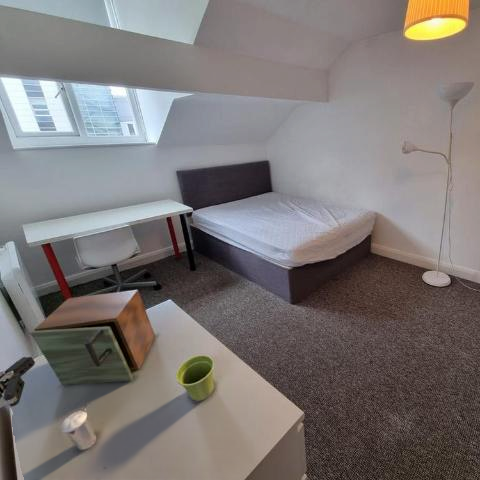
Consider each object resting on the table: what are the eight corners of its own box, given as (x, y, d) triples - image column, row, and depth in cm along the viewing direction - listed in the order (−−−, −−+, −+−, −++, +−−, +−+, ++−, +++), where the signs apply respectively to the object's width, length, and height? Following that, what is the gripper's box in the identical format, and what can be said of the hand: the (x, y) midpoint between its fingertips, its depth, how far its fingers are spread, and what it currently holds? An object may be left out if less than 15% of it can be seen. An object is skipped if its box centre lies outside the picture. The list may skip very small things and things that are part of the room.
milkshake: (107, 434, 65) (91, 407, 61) (82, 457, 61) (63, 430, 57) (96, 426, 67) (80, 399, 63) (71, 448, 63) (52, 421, 59)
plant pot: (188, 414, 69) (180, 392, 65) (180, 388, 76) (172, 366, 72) (224, 393, 74) (218, 371, 70) (213, 370, 81) (208, 349, 77)
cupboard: (138, 369, 82) (116, 318, 74) (65, 381, 79) (33, 329, 71) (155, 336, 95) (137, 289, 87) (92, 346, 92) (68, 298, 84)
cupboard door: (120, 397, 74) (93, 343, 66) (46, 401, 73) (10, 348, 65) (133, 377, 79) (110, 326, 71) (65, 382, 79) (33, 330, 71)
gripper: (-108, 465, 43) (9, 372, 59) (-28, 466, 42) (67, 372, 58) (-143, 437, 40) (-10, 346, 55) (-57, 438, 39) (52, 346, 55)
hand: (30, 359), depth 57 cm, fingers closed
